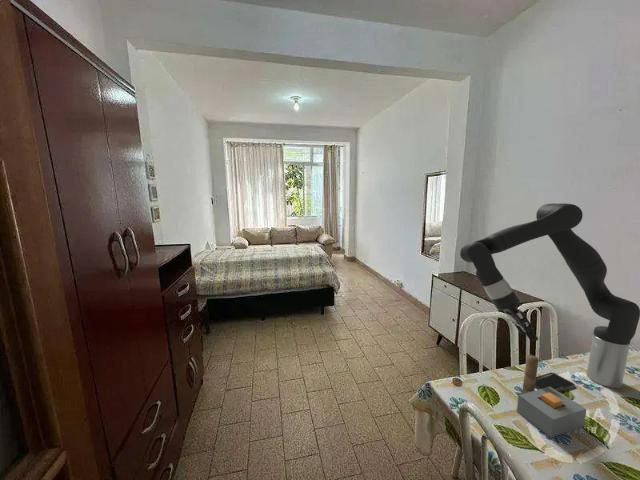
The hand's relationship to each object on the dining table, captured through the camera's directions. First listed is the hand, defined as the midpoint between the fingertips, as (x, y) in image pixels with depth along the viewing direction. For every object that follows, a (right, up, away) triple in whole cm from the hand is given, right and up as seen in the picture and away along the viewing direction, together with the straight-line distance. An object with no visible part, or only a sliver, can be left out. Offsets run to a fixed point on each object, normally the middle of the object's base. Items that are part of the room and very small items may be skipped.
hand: (529, 336), depth 88 cm
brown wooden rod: (+4, -22, +5) cm, 23 cm away
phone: (+16, -22, +10) cm, 29 cm away
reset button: (+2, -20, -6) cm, 21 cm away
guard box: (+2, -24, -6) cm, 25 cm away
